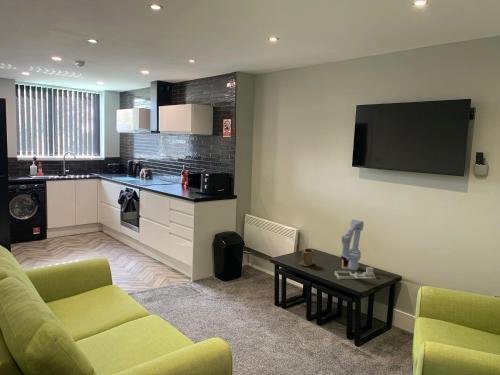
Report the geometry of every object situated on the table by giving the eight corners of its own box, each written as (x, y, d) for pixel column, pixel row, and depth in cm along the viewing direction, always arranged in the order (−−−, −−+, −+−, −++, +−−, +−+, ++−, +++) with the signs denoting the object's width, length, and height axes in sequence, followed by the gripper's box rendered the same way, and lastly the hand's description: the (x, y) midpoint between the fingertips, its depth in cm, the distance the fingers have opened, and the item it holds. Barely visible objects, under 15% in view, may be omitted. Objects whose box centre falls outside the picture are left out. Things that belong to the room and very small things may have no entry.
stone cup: (306, 268, 336) (307, 252, 334) (297, 264, 346) (297, 248, 344) (318, 265, 346) (319, 249, 343) (309, 261, 355) (309, 245, 353)
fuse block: (351, 274, 323) (351, 270, 323) (372, 274, 324) (372, 270, 324) (355, 279, 313) (355, 275, 313) (376, 279, 314) (376, 275, 314)
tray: (334, 274, 324) (334, 271, 324) (349, 274, 325) (349, 271, 324) (338, 280, 311) (339, 276, 311) (354, 280, 312) (354, 276, 311)
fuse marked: (341, 267, 318) (342, 259, 317) (347, 267, 318) (347, 259, 317) (342, 268, 315) (343, 260, 314) (348, 268, 315) (349, 260, 314)
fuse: (365, 275, 320) (366, 267, 319) (371, 275, 321) (371, 267, 320) (366, 276, 317) (367, 268, 316) (372, 276, 318) (373, 268, 317)
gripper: (338, 247, 322) (337, 262, 323) (343, 252, 307) (342, 268, 309) (346, 247, 322) (345, 262, 324) (352, 252, 308) (351, 268, 310)
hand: (345, 265), depth 317 cm, fingers closed on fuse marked, 3 cm apart
